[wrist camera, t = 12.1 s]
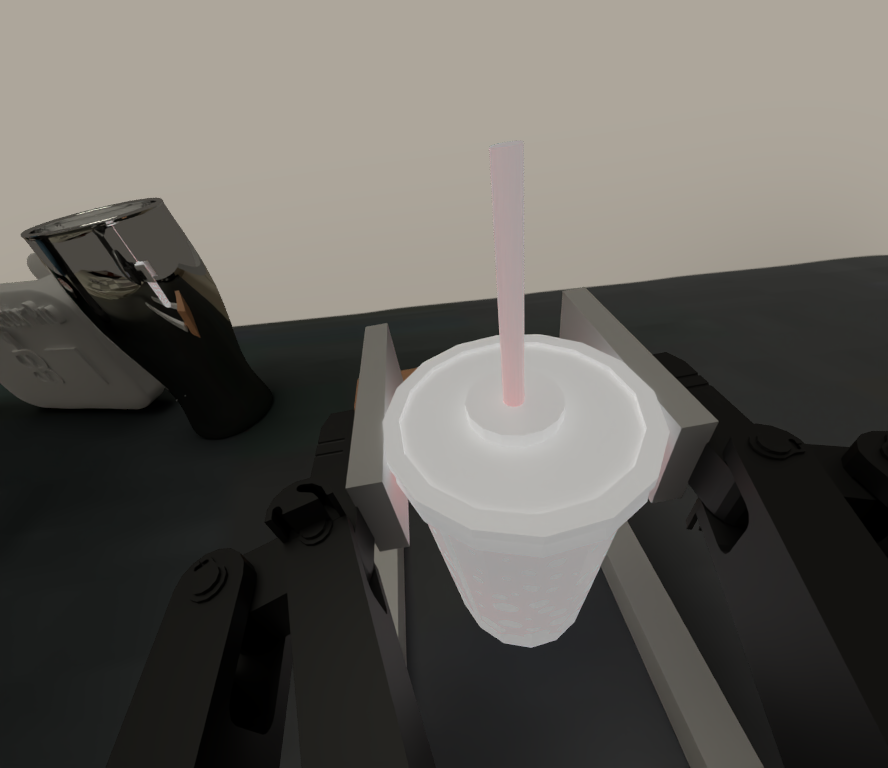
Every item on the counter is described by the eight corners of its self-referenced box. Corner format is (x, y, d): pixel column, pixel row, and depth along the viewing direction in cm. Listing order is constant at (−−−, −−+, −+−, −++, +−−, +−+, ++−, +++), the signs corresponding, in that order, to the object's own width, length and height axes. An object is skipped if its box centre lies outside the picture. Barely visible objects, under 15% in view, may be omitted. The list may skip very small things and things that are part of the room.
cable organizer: (234, 346, 38) (164, 233, 30) (158, 419, 30) (39, 289, 22) (121, 350, 41) (33, 248, 34) (26, 417, 33) (-116, 302, 26)
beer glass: (213, 389, 32) (81, 209, 22) (289, 378, 32) (188, 190, 22) (171, 450, 26) (-25, 246, 17) (262, 437, 26) (114, 221, 17)
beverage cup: (635, 567, 13) (845, 84, 5) (544, 731, 10) (645, 257, 2) (503, 480, 17) (478, 121, 8) (408, 583, 14) (214, 195, 5)
